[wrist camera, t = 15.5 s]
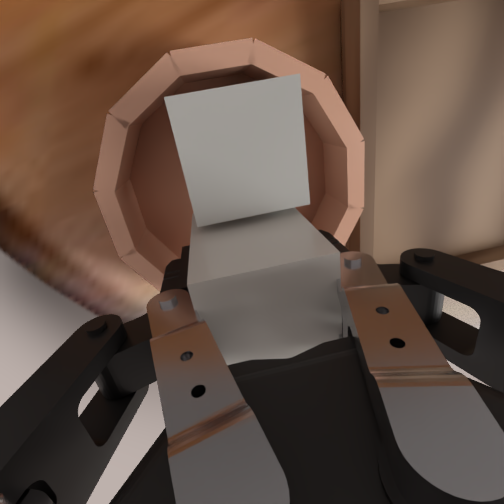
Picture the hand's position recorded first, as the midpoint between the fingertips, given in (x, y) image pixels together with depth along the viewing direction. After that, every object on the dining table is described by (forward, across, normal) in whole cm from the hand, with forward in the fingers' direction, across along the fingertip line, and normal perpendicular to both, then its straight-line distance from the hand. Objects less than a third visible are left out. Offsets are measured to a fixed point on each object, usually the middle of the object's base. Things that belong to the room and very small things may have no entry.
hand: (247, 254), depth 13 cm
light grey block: (+4, 0, -4) cm, 6 cm away
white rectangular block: (+1, 0, 0) cm, 1 cm away
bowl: (+5, 0, -2) cm, 5 cm away
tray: (+5, -13, -2) cm, 14 cm away
